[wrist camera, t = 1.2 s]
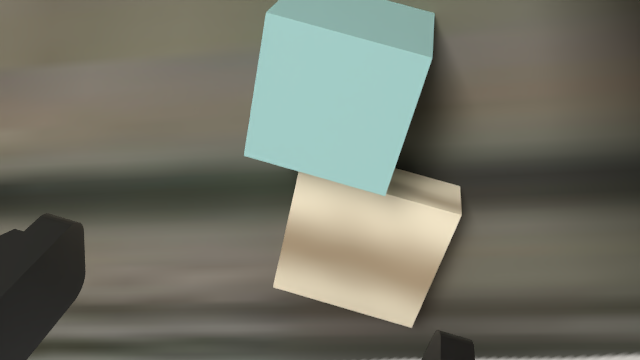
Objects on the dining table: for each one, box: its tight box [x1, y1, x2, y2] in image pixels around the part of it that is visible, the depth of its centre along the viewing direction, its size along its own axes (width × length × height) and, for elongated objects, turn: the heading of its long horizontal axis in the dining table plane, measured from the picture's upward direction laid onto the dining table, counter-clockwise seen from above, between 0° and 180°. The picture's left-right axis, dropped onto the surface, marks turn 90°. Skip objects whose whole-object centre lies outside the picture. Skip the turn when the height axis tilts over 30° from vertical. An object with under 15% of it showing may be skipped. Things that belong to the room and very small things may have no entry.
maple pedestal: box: [273, 168, 462, 328], centre depth 29 cm, size 8×8×3 cm
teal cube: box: [244, 0, 435, 196], centre depth 23 cm, size 6×6×6 cm
